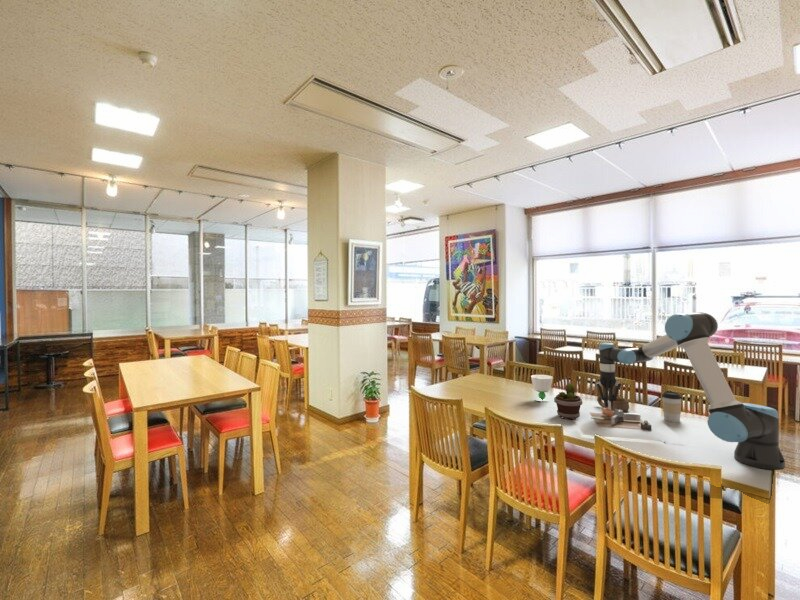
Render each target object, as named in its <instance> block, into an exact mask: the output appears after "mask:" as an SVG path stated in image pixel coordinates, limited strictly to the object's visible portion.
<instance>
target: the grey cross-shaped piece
mask: <svg viewBox="0 0 800 600" xmlns="http://www.w3.org/2000/svg"><path fill="white" fill-rule="evenodd" d="M601 408H602V409H601V410H602V414H604V415H606V416H609V417H611V424H614V425H615V424H616V423H617V422H623V421H624V420H631V421H640V419H641V414H640V413H635V412H634V413H631V412H623V410H619V409H614V411H612V410H609V409H607V408H604V407H601Z"/></svg>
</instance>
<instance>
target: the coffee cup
mask: <svg viewBox="0 0 800 600" xmlns="http://www.w3.org/2000/svg"><path fill="white" fill-rule="evenodd" d="M661 399H662V400H661V403H662V412H663V419H664V420H665V421H668V422H673V423H679V422H681V414H682V412H681V411H682V399H683V397H682V395H680V393H678V392H675V391H671V390H667V391H664V392H663V393H661Z"/></svg>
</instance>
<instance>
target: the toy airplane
mask: <svg viewBox="0 0 800 600" xmlns="http://www.w3.org/2000/svg"><path fill="white" fill-rule="evenodd" d="M589 414H590V416H591V419H593V420H594V422H595V424H596V425H597V427H599V428H601V427H602V428H610V429H612V428H614V429H629V430H644V431H652V424H651V423H650V422H649V421H648V420H647V419H645V420H642V418H640V421H631V420H624V421H623V422H617V423H616V424H615V425H614V424H611V417H609V416H606V415H604V414H602V413H601V412H589Z"/></svg>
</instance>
